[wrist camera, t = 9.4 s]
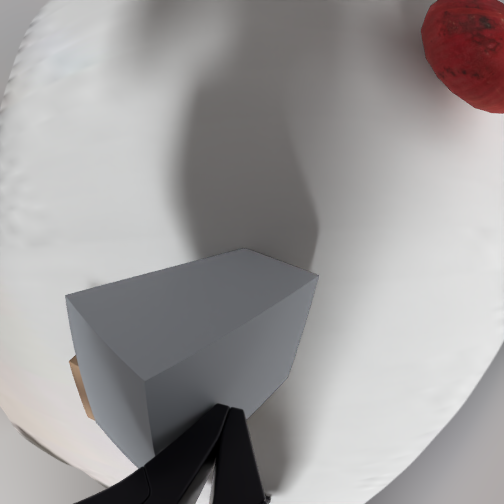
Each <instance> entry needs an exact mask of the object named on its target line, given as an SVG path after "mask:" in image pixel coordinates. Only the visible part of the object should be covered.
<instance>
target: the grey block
mask: <svg viewBox="0 0 504 504" xmlns="http://www.w3.org/2000/svg"><path fill="white" fill-rule="evenodd" d="M318 277H319V275H317V274H315V273H312V272H309V271H306V270H304V269H301V268H298V267H296V266H293V265H290V264H287V263H285V262H282V261H279V260H276V259H274V258H271V257H268V256H265V255H263V254H260V253H257V252H254V251H252V250H249V249H246V248H243V249H239V250H235V251H231V252H227V253H223V254H220V255H216V256H212V257H208V258H204V259H200V260H196V261H193V262H189V263H185V264H181V265H177V266H174V267H170V268H166V269H162V270H158V271H155V272H151V273H147V274H143V275H139V276H136V277H132V278H128V279H124V280H120V281H117V282H113V283H109V284H105V285H102V286H98V287H94V288H90V289H87V290H83V291H79V292H76V293H72V294H68V295H65V298H66V305H67V312H68V318H69V324H70V329H71V335H72V340H73V344H74V349H75V353H76V358H77V362H78V366H79V370H80V374H81V377H82V381H83V384H84V388H85V391H86V394H87V398H88V401H89V404H90V407H91V410H92V413H93V415H94V418H95V421H96V423H97V424H98V425H99V426H100V428H101V429H102V430H103V431H104V432H105V434H106V435H107V436H108V437H109V438H110V439H111V440H112V442H113V443H114V444H115V445H116V446H117V447H118V448H119V449H120V450H121V451H122V452H123V453H124V455H125V456H126V457H127V458H128V459H129V460H130V461H131V462H132V463H133V464H134V465H135V466H136V467H137V468H138V469H139V468H140V467H142V466H143V467H144V464H146V463H147V462H148V461H150V460H151V459H152V458H153V457H155V456H156V455H157V454H158V453H160V452H161V451H162V450H163V449H165V448H166V447H167V446H168V445H170V444H171V443H172V442H173V441H174V440H176V439H177V438H178V437H179V436H180V435H181V434H183V433H184V432H185V431H186V430H187V429H188V428H190V427H191V426H192V425H193V424H194V423H195V422H196V421H198V420H199V419H200V418H201V417H202V416H203V415H204V414H205V413H207V412H208V411H209V410H210V409H211V408H212V407H213V406H214V405H215V404H217V403H220V404H224V405H228V406H229V407H230V408H231V407H236V408H240V409H243V410H244V412H245V417H246V420H247V419H248V418H249V417H250V416H251V415H252V414H253V413H254V412H255V411H256V410H257V409H258V408H259V407H260V406H261V405H262V404H263V403H264V402H265V401H266V400H267V399H268V398H269V397H270V396H271V395H272V394H273V393H274V391H275V390H276V389H277V388H278V387H279V386H280V385H281V384H282V383H283V382H284V381H285V380H286V379H287V378H288V375H289V372H290V369H291V366H292V364H293V361H294V358H295V354H296V351H297V348H298V345H299V342H300V339H301V336H302V333H303V329H304V326H305V323H306V320H307V316H308V313H309V309H310V306H311V303H312V299H313V295H314V292H315V288H316V285H317V281H318Z"/></svg>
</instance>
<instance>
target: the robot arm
mask: <svg viewBox="0 0 504 504" xmlns="http://www.w3.org/2000/svg"><path fill="white" fill-rule="evenodd" d="M215 461H216V462H215ZM214 464H215V467H214V473H213V480H212V487H211V494H210V501H209V504H269V503H270V500H271V498H269V497H265V494H264V490H263V486H262V482H261V479H260V475H259V471H258V467H257V463H256V459H255V455H254V451H253V447H252V443H251V438H250V434H249V430H248V426H247V421H246V417H245V412H244V410H243V409H240V408H236V407H231V408H230V407H229V406H228V405H224V404H220V403H217V404H215V405H214V406H213V407H212V408H211V409H210V410H209V411H208V412H207V413H205V414H204V415H203V416H202V417H201V418H200V419H199V420H198V421H196V422H195V423H194V424H193V425H192V426H191V427H190V428H188V429H187V430H186V431H185V432H184V433H183V434H181V435H180V436H179V437H178V438H177V439H176V440H174V441H173V442H172V443H171V444H170V445H168V446H167V447H166V448H165V449H163V450H162V451H161V452H160V453H158V454H157V455H156V456H155V457H153V458H152V459H151V460H150V461H148V462H147V463H146V464H144V467H143V466H142V467H140V468H139V469H138V470H136V471H135V472H134V473H132V474H131V475H129V476H128V477H126V478H125V479H123V480H122V481H120V482H118V483H117V484H115V485H113V486H111V487H109V488H107V489H105V490H103V491H101V492H99V493H97V494H95V495H93V496H90V497H88V498H86V499H84V500H81V501H79V502H76V503H74V504H195V503H196V501H197V499H198V497H199V495H200V493H201V491H202V489H203V487H204V485H205V483H206V481H207V479H208V477H209V475H210V473H211V471H212V469H213V466H214Z"/></svg>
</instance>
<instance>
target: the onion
mask: <svg viewBox="0 0 504 504" xmlns="http://www.w3.org/2000/svg"><path fill="white" fill-rule="evenodd" d="M421 35H422V41H423V46H424V51H425V56H426V59H427V61H428V62H429V64H430V65H431V67H432V69H433V71H434V72H435V74H436V76H437V77H438V78H439V79H440V80H441V81H442V82H443V83H444V84H445V85H446V86H447V87H448V89H449V90H450V91H451V92H452V93H454V94H455V95H457V96H458V97H460V98H461V99H463V100H464V101H466V102H467V103H468V104H470V105H471V106H473V107H474V108H477V109H480V110H484V111H487V112H490V113H504V4H503V3H502V2H500V1H498V0H438V1H436V2H435V3H434V4H432V5H431V6H430V8H429V10H428V12H427V14H426V17H425V20H424V23H423V26H422V28H421Z"/></svg>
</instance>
